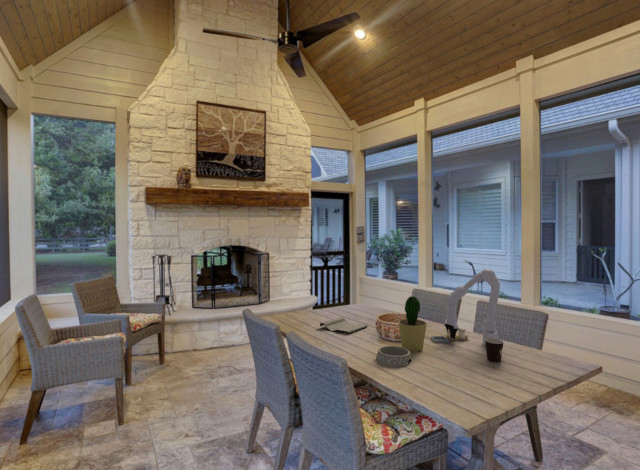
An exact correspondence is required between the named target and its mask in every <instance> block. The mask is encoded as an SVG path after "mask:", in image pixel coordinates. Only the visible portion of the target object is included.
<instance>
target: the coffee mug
mask: <svg viewBox="0 0 640 470" xmlns="http://www.w3.org/2000/svg"><path fill="white" fill-rule="evenodd" d="M485 343H486V345H485V351H486V353H485V354H486V360H487V361H488V362H490V363H495V362H496V363H498V362H499V363H501V362H502V355H503V349H504V343H505V342H504V340H502V339H499V340H498V339H485Z"/></svg>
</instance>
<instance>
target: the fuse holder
mask: <svg viewBox="0 0 640 470" xmlns="http://www.w3.org/2000/svg"><path fill="white" fill-rule="evenodd" d="M444 337H446V338H447V339H448V334H445V335H444ZM470 341H471V340H470V339H469V336H468V334H465V340H459V336H458V334H456V336H455V340H449V342H470Z"/></svg>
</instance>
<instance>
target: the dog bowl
mask: <svg viewBox="0 0 640 470" xmlns="http://www.w3.org/2000/svg"><path fill="white" fill-rule="evenodd" d="M375 360H376V362H377V363H378V364H380V365H383V366H386V367H391V368H392V367H393V368H403V367H407V366H408V364H409V361H411V362H412V361H413V360H412V356H411V351H409V350H407V349H405V348H403V347H402V346H398V345H384V346H381V347H379V348H378V350H377V353H376V357H375Z"/></svg>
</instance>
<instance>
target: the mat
mask: <svg viewBox="0 0 640 470" xmlns="http://www.w3.org/2000/svg"><path fill="white" fill-rule="evenodd" d="M319 326H320V327H324V326H325V328H326V329H328V330H329V331H331V332H336V331H340V332H347V333H348V334H351V333H353V332H356V331H360V330H361V329H365V328H367V327H369V326H368V324H365V323H358V322H357V323H350V322H349V321H347V320H346V319H345V317H343V316H342V317H340V316H339V317H337V318H333V319H330V320H326V321H324V322H320V323H319Z"/></svg>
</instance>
